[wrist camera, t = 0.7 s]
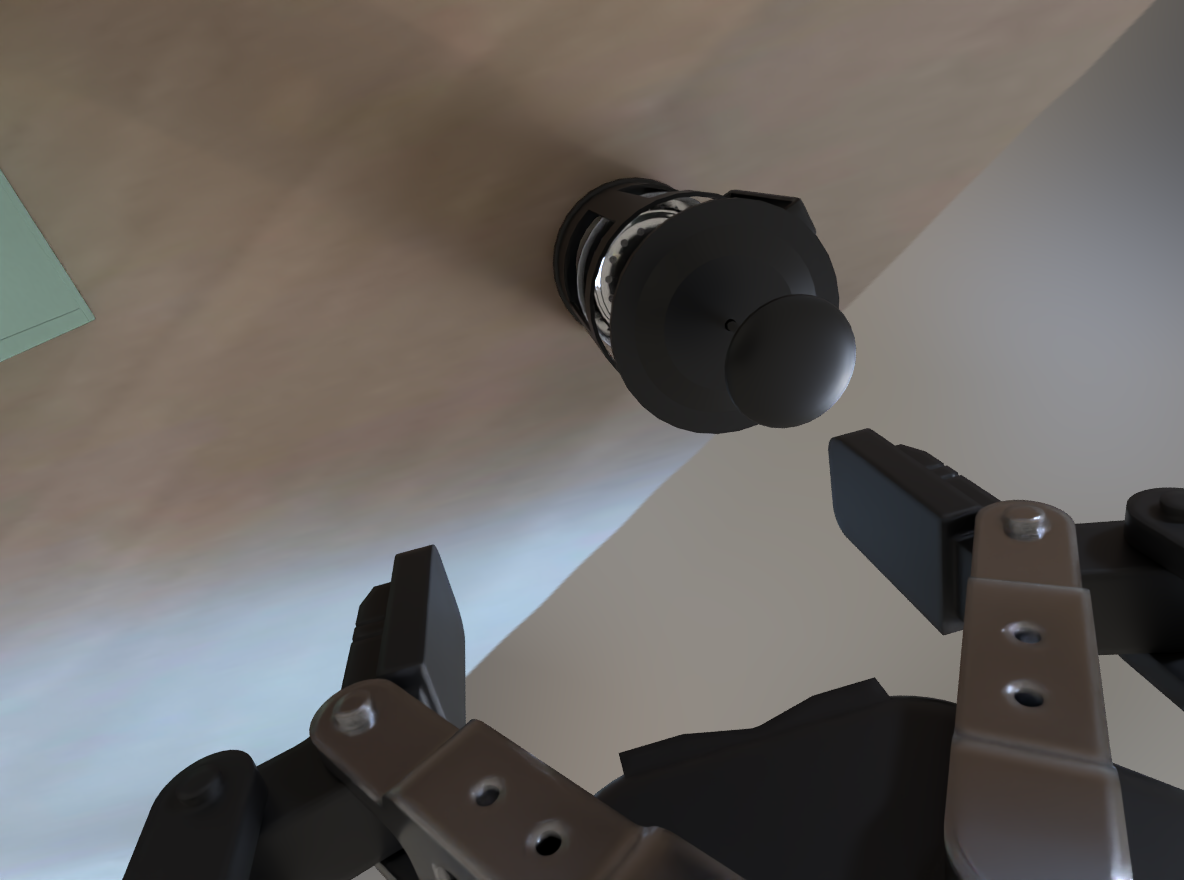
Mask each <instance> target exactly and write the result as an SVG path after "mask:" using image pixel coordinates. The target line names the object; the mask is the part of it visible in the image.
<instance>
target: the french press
mask: <svg viewBox="0 0 1184 880" xmlns="http://www.w3.org/2000/svg"><path fill="white" fill-rule="evenodd" d="M693 196H700V197H709V198H712V199H714V200H709V201H706V202H703V203H700V202H698V201H697V200H695V199H693V198H690V197H693ZM598 216H601V217H603V218H602V219H601V220H600V222H599V223H598V224H597V225H596V227H595V228H594V229H593V230H592V232H591V233H590V235H589V237H588V239H587V241H586V243H585V245H584V247H583V250H582V253H581V257H580V260H579V264H578V273H577V272H576V257H577V250H578V247H579V244H580V241H581V239H582V237H583V235H584V233H585V231H586V229H587V228H588V227H589V225H590V224H591V223H592V222H593V220H594V219H596V218H597V217H598ZM815 234H816V229H815V227H814V225H813V223H812V221H811V218H810V216H809V214H808V212H807V210H806V208H805V206H804V204H803V202H802V200H801V199H800V198H796V197H789V196H781V195H773V194H765V193H758V192H750V191H742V190H731V191H729V192H728V193H726V194H725V195H723V196H722V195H719V194H715V193H709V192H700V191H692V190H684V191H678V190H675V189H673V188H672V187H670V186H668V185H666V184H663V183H661V182H658V181H655V180H652V179H644V178H624V179H618V180H615V181H611V182H608V183H605V184H603V185H601V186H599V187H597V188H595V189H594V190H592V191H590V192H589V193H588V194H586V195H585V196H584V197H583V198H582V199H581V200H579V201H578V202H577V203H576V204H575V206H574V207H573V208H572V209H571V211H570V212H569V213H568V215H567V216H566V218H565V220H564V222H563V224H562V226H561V228H560V230H559V232H558V236H557V239H556V242H555V246H554V255H553V270H554V279H555V282H556V286H557V289H558V292H559V295H560V297H561V299H562V301H563V303H564V304H565V306H566V308H567V309H568V311H569V312H570V313H571V314H572V315H573V317H574V318H575V319H576V320H577V321H578V322H579V323H580V324H582V325H583V326H584V327H585V328H586V330H587V331H588V333H589V334H590V336H591V337H592V338H593V340H594V341H595V343H596V344H597V345H598V347H599V348H600V350H601V351H602V353H603V354H604V355H605V357H606V358H607V359H608V360H609V362H610V363H611V364H612V365H613V367H614V368H615V369H616V370H617V371H618V372H619V373H620V375H621V377H622V379H623V381H624V383H625V385H626V387H627V388H628V389H629V391H630V392H631V393H632V394H633V396H634V397H635V398H636V399H637V400H638V402H639V403H640V404H641V405H642V406H643V407H644V408H645V409H647V410H648V411H649V412H651V413H652V414H653V415H654V416H656V417H657V418H658V419H660V420H662V421H664V422H666V423H668V424H670V425H672V426H675V427H677V428H680V429H684V430H688V431H692V432H696V433H711V434H720V433H727V432H734V431H740V430H743V429H746V428H749V427H752V426H755V425H758V424H759V425H763V426H767V427H771V428H788V427H795V426H799V425H802V424H805V423H808V422H810V421H812V420H814V419H816V418H817V417H819V416H821V415H822V414H823V413H825V412H826V411H827V410H829V409H830V408H831V407H832V406H833V405H834V404H835V403H836V401H837V400H838V399H839V398H840V397H841V395H842V393H843V392H844V391H845V389H846V388H847V385H848V383H849V381H850V379H851V376H852V373H853V369H854V365H855V358H856V345H855V337H854V334H853V332H852V329H851V326H850V324H849V322H848V321H847V319H846V317H845V316H844V314H843V313H842V312H841V311H840V310H839V294H838V287H837V280H836V275H835V272H834V269H833V266H832V263H831V260H830V258H829V255H828V253H827V252H826V250H825V248H824V247H823V245H822V244H821V242H820V240H819V239H818V237H817V236H816V235H815ZM601 339H602V340H603V341H604V342H606V343H607V344H608V345H609V346H610V347H611V349H612V352H613V356H614V359H615V360H614V359H613V358H612V356H611V355H610V354H609V352H608V351H607V350H606V348H605V346H604V344H603V342H602V340H601Z"/></svg>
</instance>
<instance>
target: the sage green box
mask: <svg viewBox="0 0 1184 880" xmlns="http://www.w3.org/2000/svg"><path fill="white" fill-rule="evenodd" d="M93 320H95V317H94V315H93V314H92V312H91V311H90V309H89V307H88V306H87V304H86V303H85V301H84V300H83V298H82V297H81V295H80V293H79V292H78V290H77V289H76V287H75V286H74V284H73V282H72V281H71V279H70V278H69V276H68V275H67V273H66V271H65V270H64V268H63V267H62V265H61V264H60V262H59V260H58V259H57V257H56V256H55V254H54V253H53V251H52V250H51V248H50V246H49V245H48V243H47V242H46V240H45V239H44V237H43V235H42V234H41V232H40V231H39V229H38V228H37V226H36V224H35V223H34V221H33V220H32V218H31V217H30V215H29V213H28V212H27V210H26V209H25V207H24V206H23V204H22V203H21V201H20V199H19V198H18V196H17V195H16V193H15V192H14V190H13V188H12V187H11V185H10V184H9V182H8V181H7V179H6V177H5V176H4V174H3V173H2V171H1V170H0V362H2V361H4V360H6V359H8V358H10V357H13V356H15V355H17V354H19V353H22V352H24V351H26V350H28V349H31V348H33V347H35V346H37V345H39V344H42V343H44V342H46V341H48V340H51V339H53V338H55V337H57V336H60V335H62V334H64V333H66V332H68V331H71V330H73V329H75V328H77V327H80V326H82V325H84V324H86V323H88V322H91V321H93Z"/></svg>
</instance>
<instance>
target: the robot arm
mask: <svg viewBox="0 0 1184 880" xmlns="http://www.w3.org/2000/svg"><path fill="white" fill-rule="evenodd" d="M828 451H829V464H830V476H831V488H832V499H833V508H834V513H835V517H836V520H837V522H838V525H839V527H840V528H841V530H842V532H843V533H844V535H845V536H846V537H847V538H848V539H849V540H850V541H851V542H852V543H853V544H854V545H855V546H856V547H857V548H858V549H859V550H860V551H861V552H862V553H863V554H864V555H865V556H866V557H867V558H868V559H869V560H870V562H872V564H874V566H875V567H876V568H878V570H879V571H880V572H881V573H882V574H883V575H884V576H885V577H886V578H887V579H888V580H889V581H890V582H891V583H892V584H893V585H894V586H895V587H896V588H897V589H898V590H899V591H900V592H901V593H902V594H903V595H904V596H905V597H906V598H907V599H908V600H909V601H910V602H911V603H912V604H913V605H914V606H915V607H916V608H917V609H918V610H919V611H920V612H921V613H922V614H923V615H924V616H925V617H926V618H927V619H928V620H929V621H930V622H931V624H932V625H933V626H934V627H935V628H936V629H938V631H939V632H940V633H941V634H942V635H947V634H950V633H953V632H957V631H960V630H963V639H962V649H961V661H960V674H959V684H958V695H957V704H956V703H953V702H949V701H945V700H940V699H935V698H928V697H919V696H889V695H888V694H887V693H886V691H885V690H884V689H883V687H882V686H881V685H880V684H879V682H878V681H877V680H876V678H871V679H868V680H865V681H861V682H858V683H855V684H851V685H847V686H844V687H841V688H838V689H834V690H831V691H828V692H824V693H821V694H817V695H814V696H812V697H810V698H808V699H806V700H805V701H803V702H801V703H799V704H797V705H796V706H794V707H792V708H790V709H789V710H787V711H785V712H783V713H782V714H780V715H778V716H776V717H774V718H773V719H771V720H769V721H767V722H766V723H764V724H762V725H760V726H758V727H755V728H751V729H742V730H729V731H718V732H706V733H705V732H704V733H693V734H682V735H679V736H675V737H672V738H668V739H665V740H662V741H659V742H655V743H652V744H648V745H645V746H641V747H638V748H635V749H631V750H628V751H625V752H621V753H619V756H620V760H621V763H622V768H623V772H624V775H622V776H621V777H619V778H617V779H615V780H614V781H612V782H611V783H609V784H608V785H607V786H605V787H604V788H602V789H601V790H600V791H598V792H597V793H596V794H595V795H594V796H593V795H592V794H590V793H589V792H587V791H586V790H584V789H583V788H581V787H580V786H578V785H577V784H575V783H574V782H572V781H571V780H569V779H568V778H566V777H565V776H563V775H562V774H560V773H559V772H557V771H556V770H554V769H553V768H551V767H550V766H548V765H547V764H545V763H544V762H542V761H541V760H539V759H538V758H536V757H535V756H533V755H532V754H530V753H529V752H527V751H526V750H524V749H523V748H521V747H520V746H518V745H517V744H515V743H514V742H512V741H511V740H509V739H508V738H506V737H505V736H503V735H502V734H500V733H499V732H497V731H496V730H494V729H493V728H491V727H490V726H488V725H487V724H485V723H484V722H482V721H480V720H477V719H472V720H470V721H469V722H468V723H467V724H466V720H465V719H466V717H465V715H466V714H465V713H466V711H465V636H464V629H463V624H462V620H461V616H460V612H459V609H458V606H457V603H456V600H455V597H454V595H453V592H452V589H451V586H450V583H449V580H448V577H447V575H446V572H445V569H444V566H443V563H442V560H441V557H440V555H439V552H438V550H437V548H436V546H435V545H429V546H425V547H422V548H418V549H414V550H411V551H407V552H403V553H400V554H396V556H395V560H394V566H393V572H392V578H391V582H389V583H386V584H382V585H378V586H375V587H373V589H372V590H371V591H370V593H369V594H368V595H367V597H366V598H365V599H364V601H363V602H362V603H361V605H360V606H359V611H358V615H357V620H356V627H355V629H354V634H353V638H352V640H353V643H351V647H350V652H349V656H348V661H347V665H346V670H345V674H344V679H343V683H342V688H341V690H340V691H339V692H337V693H336V694H334V695H333V696H332V697H330V698H329V699H328V700H327V701H326V702H325V703H324V704H323V705H322V706H321V707H320V708H319V709H318V711H317V712H316V714H315V715H314V717H313V719H312V721H311V724H310V729H309V731H310V737H309V738H307V739H306V740H304V741H303V742H301V743H300V744H298V745H296V746H295V747H293V748H291V749H289V750H287V751H285V752H283V753H281V754H279V755H278V756H276V757H274V758H272V759H270V760H268V761H266V762H264V763H262V764H260V765H258V766H257V767H256V765H255V763H254V761H253V760H252V758H251V757H250V756H249V755H248V754H247V753H245V752H243V751H239V750H227V751H221V752H217V753H214V754H211V755H209V756H206V757H204V758H202V759H200V760H198V761H196V762H195V763H193V764H191V765H190V766H188V767H187V768H185V769H184V770H183V771H181V772H180V773H179V774H178V775H176V776H175V777H174V778H173V779H172V780H171V781H170V782H169V783H168V784H167V785H166V786H165V787H164V788H163V790H162V791H161V792H160V793H159V795H158V796H157V798H156V799H155V801H154V803H153V805H152V807H151V810H150V812H149V815H148V817H147V820H146V822H145V825H144V827H143V830H142V832H141V835H140V837H139V840H138V842H137V845H136V847H135V850H134V852H133V855H132V857H131V860H130V862H129V865H128V867H127V869H126V872H125V874H124V877H123V879H122V880H351V879H353V878H355V877H356V876H358V875H359V874H361V873H362V872H364V871H366V870H368V869H369V868H371V867H372V866H375V867H376V869H377V870H378V871H379V872H380V873H381V874H382V875H383V876H384V877H385V878H386V879H387V880H1184V790H1182V789H1179V788H1176V787H1174V786H1171V785H1169V784H1166V783H1164V782H1161V781H1159V780H1156V779H1153V778H1151V777H1148V776H1146V775H1143V774H1140V773H1138V772H1135V771H1132V770H1130V769H1127V768H1125V767H1122V766H1120V765H1117V764H1115V763H1113V762H1112V758H1111V751H1110V744H1109V735H1108V727H1107V720H1106V712H1105V704H1104V697H1103V688H1102V681H1101V673H1100V665H1099V657H1098V655H1114V654H1118V655H1119V656H1120V657H1121V658H1122V659H1123V660H1124V661H1126V662H1127V663H1128V664H1129V665H1130V666H1131V667H1132V668H1134V669H1135V670H1136V671H1137V672H1138V673H1140V674H1141V675H1142V676H1143V677H1144V678H1145V679H1147V680H1148V681H1149V682H1150V683H1151V684H1152V685H1153V686H1155V687H1156V688H1157V689H1158V690H1159V691H1160V692H1162V693H1163V694H1164V695H1165V696H1166V697H1168V698H1169V699H1170V700H1171V701H1172V702H1173V703H1175V704H1176V705H1177V706H1178V707H1179V708H1180V709H1182V710H1183V711H1184V489H1183V488H1154V489H1149V490H1144V491H1141V492H1138V493H1136V494H1134V495H1133V496H1131V497H1130V498H1129V500H1128V501H1127V505H1126V514H1125V520H1123V521H1110V522H1097V523H1083V524H1075V523H1074V521H1073V519H1072V518H1071V517H1070V516H1069V515H1068V514H1067V513H1065V512H1064V511H1062V510H1060V509H1058V508H1056V507H1054V506H1051V505H1048V504H1045V503H1041V502H1035V501H1028V500H1008V501H1000V500H998V499H997V498H996V497H994V496H993V495H991V494H990V493H988V492H986V491H985V490H983V489H982V488H980V487H979V486H977V485H976V484H974V483H973V482H971V481H970V480H968V479H967V478H965V477H963V476H962V475H960V476H959V475H958V472H956V471H955V470H953V469H952V468H950V467H948V466H944V464H943V463H942V462H941V461H939V460H938V459H936V458H935V457H933V456H932V455H930V454H928V453H927V452H925V451H922V450H919V449H915V448H912V447H909V446H905V445H902V444H900V445H896V446H895V445H893V444H892V443H890V442H889V441H887V440H886V439H885V438H883V437H882V436H880V435H879V434H877V433H876V432H874V431H873V430H871V429H869V428H867V429H863V430H859V431H856V432H852V433H848V434H844V435H841V436H837V437H833V438H831V440H830V442H829V447H828Z"/></svg>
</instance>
